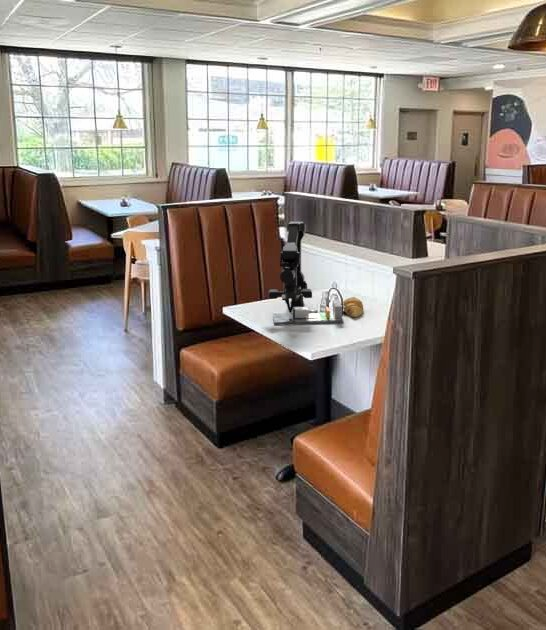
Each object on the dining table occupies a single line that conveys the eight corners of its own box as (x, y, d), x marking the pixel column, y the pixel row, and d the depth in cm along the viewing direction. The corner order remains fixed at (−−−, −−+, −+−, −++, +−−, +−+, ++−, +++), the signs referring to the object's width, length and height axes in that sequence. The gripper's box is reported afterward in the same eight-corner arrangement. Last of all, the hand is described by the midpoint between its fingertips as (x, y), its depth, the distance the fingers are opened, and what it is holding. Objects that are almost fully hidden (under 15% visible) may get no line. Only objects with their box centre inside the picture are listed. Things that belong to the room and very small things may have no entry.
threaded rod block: (292, 315, 279) (292, 307, 278) (316, 314, 279) (316, 306, 278) (293, 317, 275) (293, 310, 273) (317, 317, 275) (317, 309, 274)
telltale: (325, 313, 280) (325, 306, 279) (328, 313, 280) (328, 306, 279) (327, 317, 274) (327, 311, 273) (329, 317, 274) (329, 311, 273)
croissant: (361, 326, 278) (370, 311, 276) (341, 316, 277) (350, 301, 274) (354, 311, 298) (362, 297, 296) (336, 302, 297) (344, 287, 295)
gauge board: (273, 316, 283) (273, 300, 281) (339, 314, 284) (339, 299, 282) (274, 325, 271) (273, 309, 269) (343, 323, 271) (343, 307, 269)
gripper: (268, 283, 264) (269, 318, 268) (313, 282, 264) (313, 317, 269) (268, 276, 274) (268, 310, 279) (311, 275, 275) (310, 310, 279)
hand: (290, 312), depth 276 cm, fingers closed
